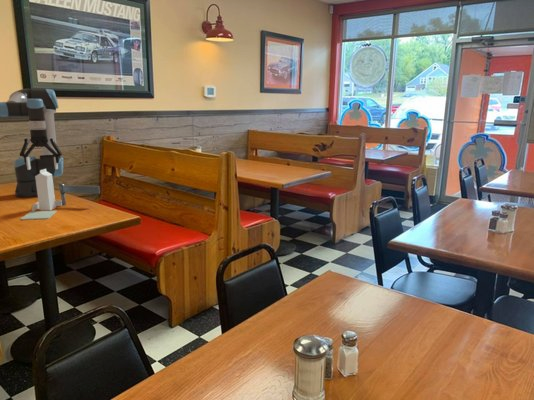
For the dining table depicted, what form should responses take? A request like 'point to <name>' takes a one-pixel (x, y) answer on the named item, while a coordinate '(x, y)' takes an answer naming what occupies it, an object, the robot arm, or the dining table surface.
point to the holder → (58, 203)
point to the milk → (45, 190)
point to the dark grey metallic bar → (79, 189)
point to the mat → (38, 215)
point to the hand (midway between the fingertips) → (42, 169)
